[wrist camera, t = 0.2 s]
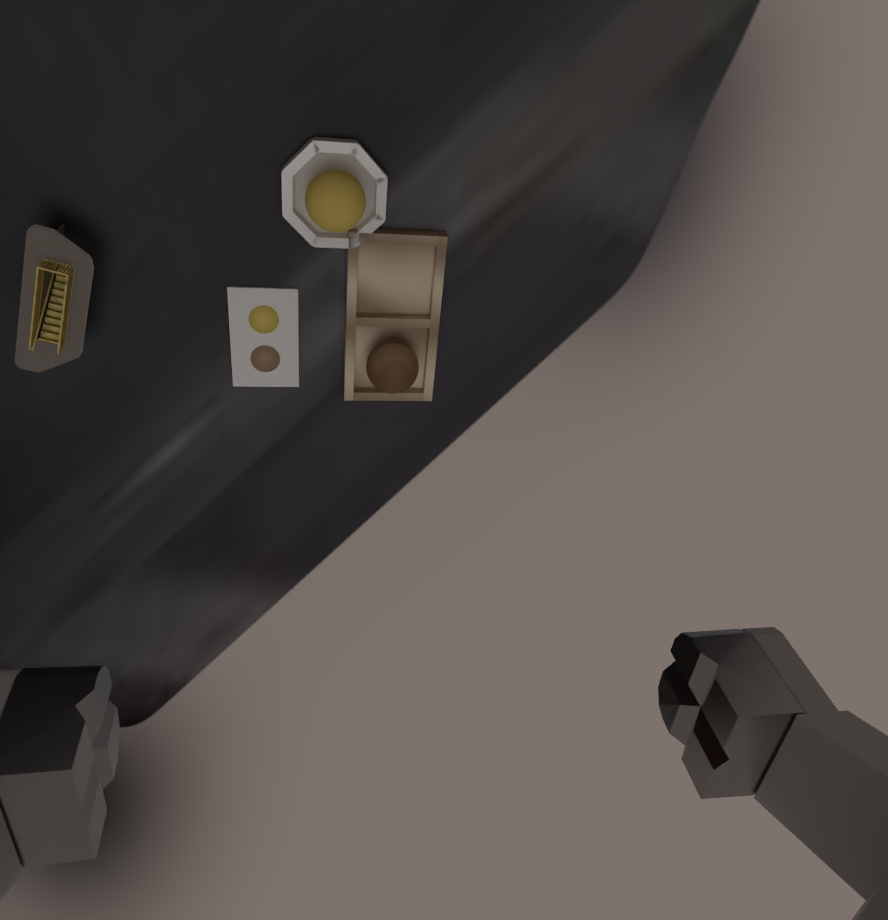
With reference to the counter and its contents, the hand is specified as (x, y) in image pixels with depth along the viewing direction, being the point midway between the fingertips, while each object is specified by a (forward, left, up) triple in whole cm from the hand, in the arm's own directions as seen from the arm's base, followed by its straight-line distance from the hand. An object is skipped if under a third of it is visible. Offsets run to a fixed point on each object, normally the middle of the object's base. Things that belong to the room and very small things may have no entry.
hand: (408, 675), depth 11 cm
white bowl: (+5, +1, -47) cm, 47 cm away
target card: (+16, -4, -47) cm, 50 cm away
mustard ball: (+5, +1, -47) cm, 47 cm away
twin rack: (+14, +6, -47) cm, 50 cm away
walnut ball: (+17, +6, -47) cm, 50 cm away
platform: (+12, -17, -48) cm, 52 cm away
